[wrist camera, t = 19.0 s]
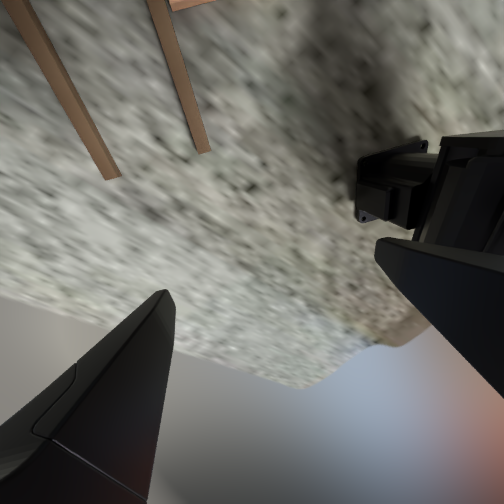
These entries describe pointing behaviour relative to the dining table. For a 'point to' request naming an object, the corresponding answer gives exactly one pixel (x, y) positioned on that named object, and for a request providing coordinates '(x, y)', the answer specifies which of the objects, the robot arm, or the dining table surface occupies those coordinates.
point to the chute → (69, 97)
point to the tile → (186, 3)
